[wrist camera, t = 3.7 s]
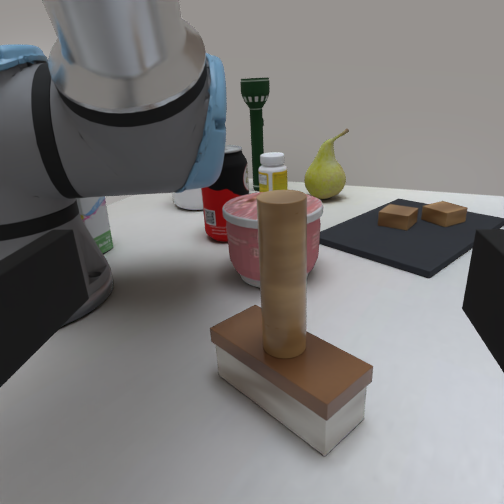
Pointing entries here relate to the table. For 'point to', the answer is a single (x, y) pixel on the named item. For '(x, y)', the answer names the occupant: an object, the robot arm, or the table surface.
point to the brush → (290, 338)
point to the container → (246, 234)
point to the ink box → (96, 220)
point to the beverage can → (224, 191)
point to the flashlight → (255, 118)
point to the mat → (408, 239)
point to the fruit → (325, 172)
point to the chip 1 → (397, 217)
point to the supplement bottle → (272, 172)
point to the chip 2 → (444, 213)
